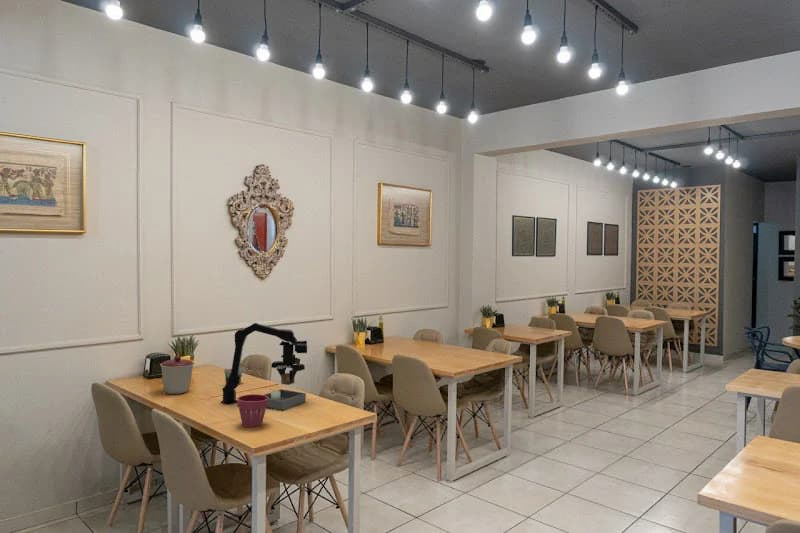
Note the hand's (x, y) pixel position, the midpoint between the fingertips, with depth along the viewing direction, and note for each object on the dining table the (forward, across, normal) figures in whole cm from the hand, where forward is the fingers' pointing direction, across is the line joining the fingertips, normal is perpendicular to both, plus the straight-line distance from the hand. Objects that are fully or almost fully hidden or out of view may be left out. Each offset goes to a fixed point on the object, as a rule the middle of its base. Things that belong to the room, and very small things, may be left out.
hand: (287, 381), depth 297 cm
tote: (+11, 0, +5) cm, 12 cm away
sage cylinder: (+10, 0, +10) cm, 14 cm away
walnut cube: (+1, 0, 0) cm, 1 cm away
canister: (+11, +66, +17) cm, 69 cm away
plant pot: (+11, -11, +40) cm, 43 cm away
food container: (+11, +52, -15) cm, 55 cm away
